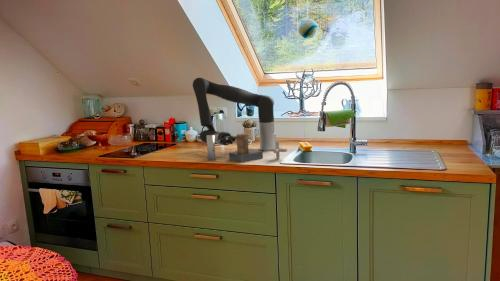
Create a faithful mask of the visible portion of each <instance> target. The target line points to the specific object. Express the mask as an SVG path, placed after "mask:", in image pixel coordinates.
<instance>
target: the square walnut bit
mask: <svg viewBox="0 0 500 281" xmlns="http://www.w3.org/2000/svg"><path fill="white" fill-rule="evenodd" d="M236 136H237V142H236V147H237V148H236V149H237V150H236V151H237V153H240V154H244V153H249V150H248V149H249V134H245V133H240V134H239V133H238V134H236Z"/></svg>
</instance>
